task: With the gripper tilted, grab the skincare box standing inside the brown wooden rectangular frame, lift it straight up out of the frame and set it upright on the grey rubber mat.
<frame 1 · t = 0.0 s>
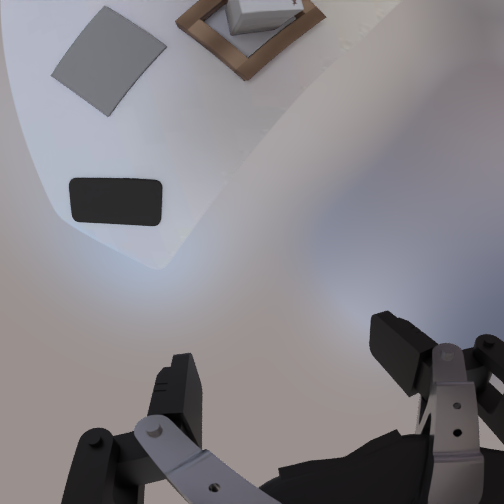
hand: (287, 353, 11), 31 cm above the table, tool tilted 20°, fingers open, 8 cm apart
rubber mat: (105, 58, 25), on the table
skincare box: (249, 19, 26), resting in brown wooden rectangular frame
brown wooden rectangular frame: (249, 19, 26), on the table
phone: (114, 199, 38), on the table
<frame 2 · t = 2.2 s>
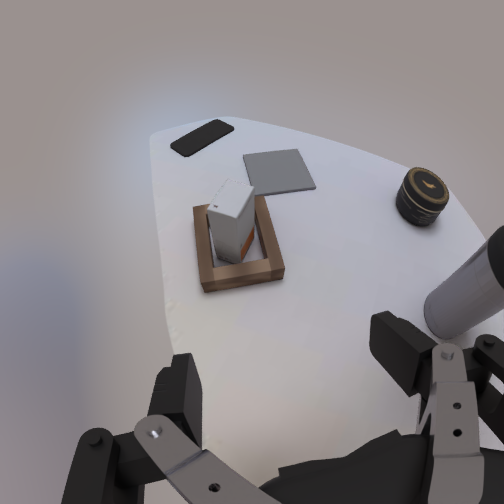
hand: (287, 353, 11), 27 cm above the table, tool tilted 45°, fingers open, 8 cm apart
rubber mat: (277, 171, 54), on the table
skincare box: (236, 247, 46), resting in brown wooden rectangular frame
brown wooden rectangular frame: (236, 246, 45), on the table
jar: (413, 210, 50), on the table
phone: (202, 138, 62), on the table
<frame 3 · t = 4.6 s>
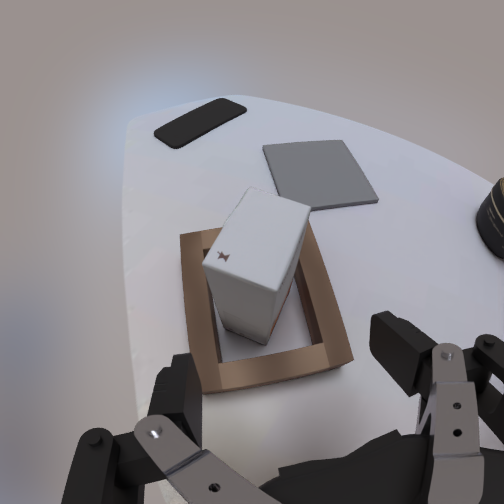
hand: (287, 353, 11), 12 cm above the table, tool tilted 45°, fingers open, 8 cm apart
rubber mat: (318, 172, 34), on the table
skincare box: (258, 309, 25), resting in brown wooden rectangular frame
brown wooden rectangular frame: (258, 308, 25), on the table
jar: (494, 235, 29), on the table
phone: (201, 123, 42), on the table
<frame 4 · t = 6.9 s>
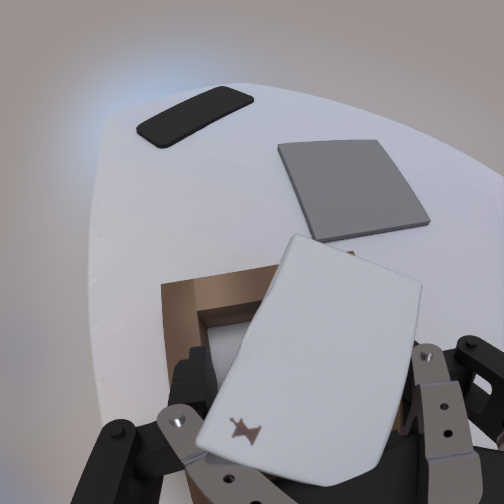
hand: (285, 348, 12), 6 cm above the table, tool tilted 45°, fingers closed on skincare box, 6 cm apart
rubber mat: (352, 182, 25), on the table
skincare box: (281, 390, 16), resting in brown wooden rectangular frame, touching gripper
brown wooden rectangular frame: (281, 389, 16), on the table
phone: (197, 116, 32), on the table
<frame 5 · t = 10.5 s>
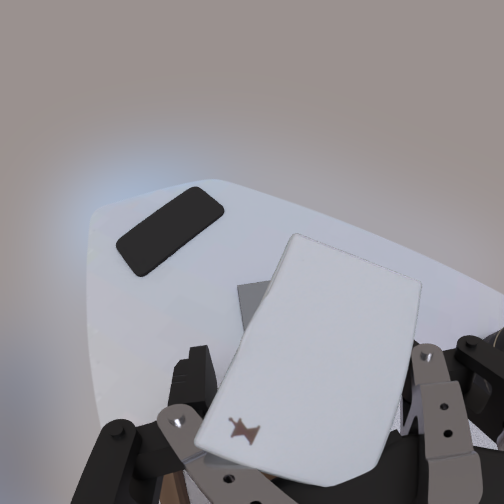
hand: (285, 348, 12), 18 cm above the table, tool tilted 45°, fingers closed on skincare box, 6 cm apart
rubber mat: (299, 327, 30), on the table
skincare box: (280, 389, 16), point 12 cm above the table, touching gripper
brown wooden rectangular frame: (222, 481, 21), on the table
jar: (486, 370, 25), on the table
phone: (170, 230, 37), on the table
when the fingers open (8 cm above the table, at t = 14.0 s): skincare box drops 1 cm, resting on rubber mat.
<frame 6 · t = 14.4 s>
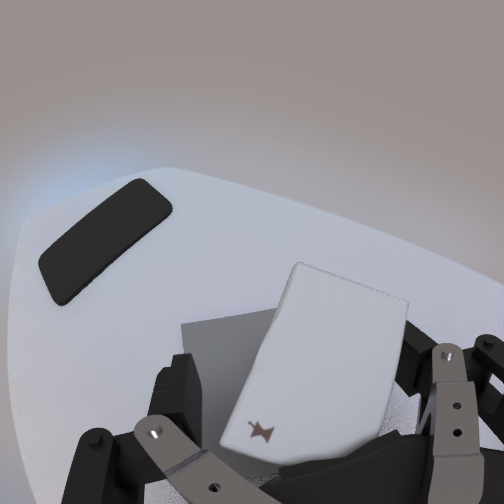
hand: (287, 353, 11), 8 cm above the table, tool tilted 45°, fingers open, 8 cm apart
rubber mat: (278, 391, 17), on the table
skincare box: (284, 392, 17), resting on rubber mat
phone: (102, 240, 25), on the table
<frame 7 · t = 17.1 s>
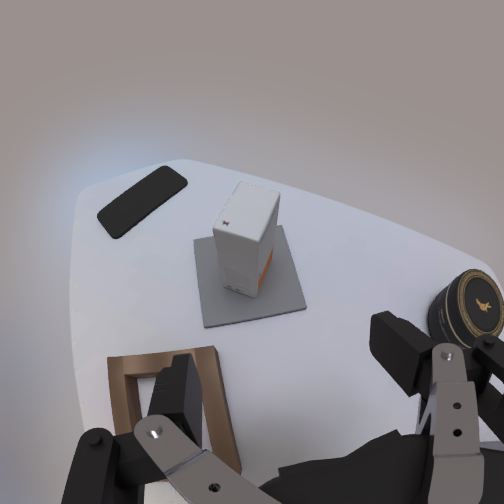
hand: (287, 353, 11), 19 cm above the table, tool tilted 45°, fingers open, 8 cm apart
rubber mat: (246, 273, 35), on the table
skincare box: (249, 272, 34), resting on rubber mat
brown wooden rectangular frame: (175, 417, 25), on the table
jar: (449, 325, 30), on the table
phone: (142, 201, 42), on the table
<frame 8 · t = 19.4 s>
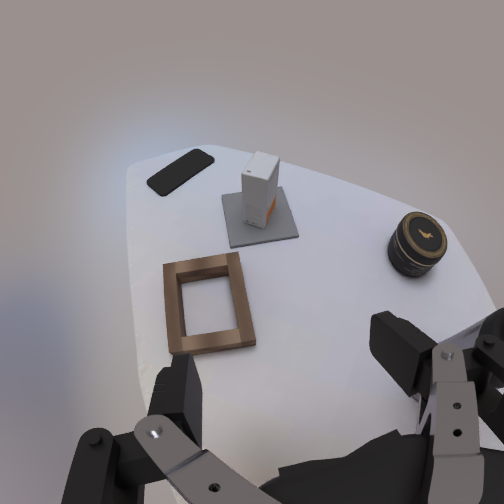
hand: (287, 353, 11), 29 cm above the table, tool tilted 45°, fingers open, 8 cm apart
rubber mat: (258, 215, 51), on the table
skincare box: (260, 214, 51), resting on rubber mat
brown wooden rectangular frame: (208, 307, 42), on the table
jar: (407, 256, 47), on the table
phone: (181, 172, 59), on the table
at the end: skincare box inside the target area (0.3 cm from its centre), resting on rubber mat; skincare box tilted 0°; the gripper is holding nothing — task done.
